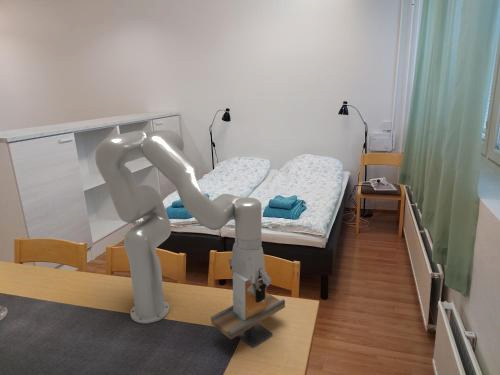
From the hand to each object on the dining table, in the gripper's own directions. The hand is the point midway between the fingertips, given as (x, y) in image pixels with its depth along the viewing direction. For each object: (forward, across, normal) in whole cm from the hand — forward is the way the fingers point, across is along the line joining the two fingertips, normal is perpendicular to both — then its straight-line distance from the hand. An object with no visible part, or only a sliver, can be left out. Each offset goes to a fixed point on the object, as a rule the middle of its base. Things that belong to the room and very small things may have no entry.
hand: (249, 293), depth 108 cm
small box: (+6, 0, 0) cm, 6 cm away
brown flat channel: (+7, 0, 0) cm, 7 cm away
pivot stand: (+14, 0, 0) cm, 14 cm away
